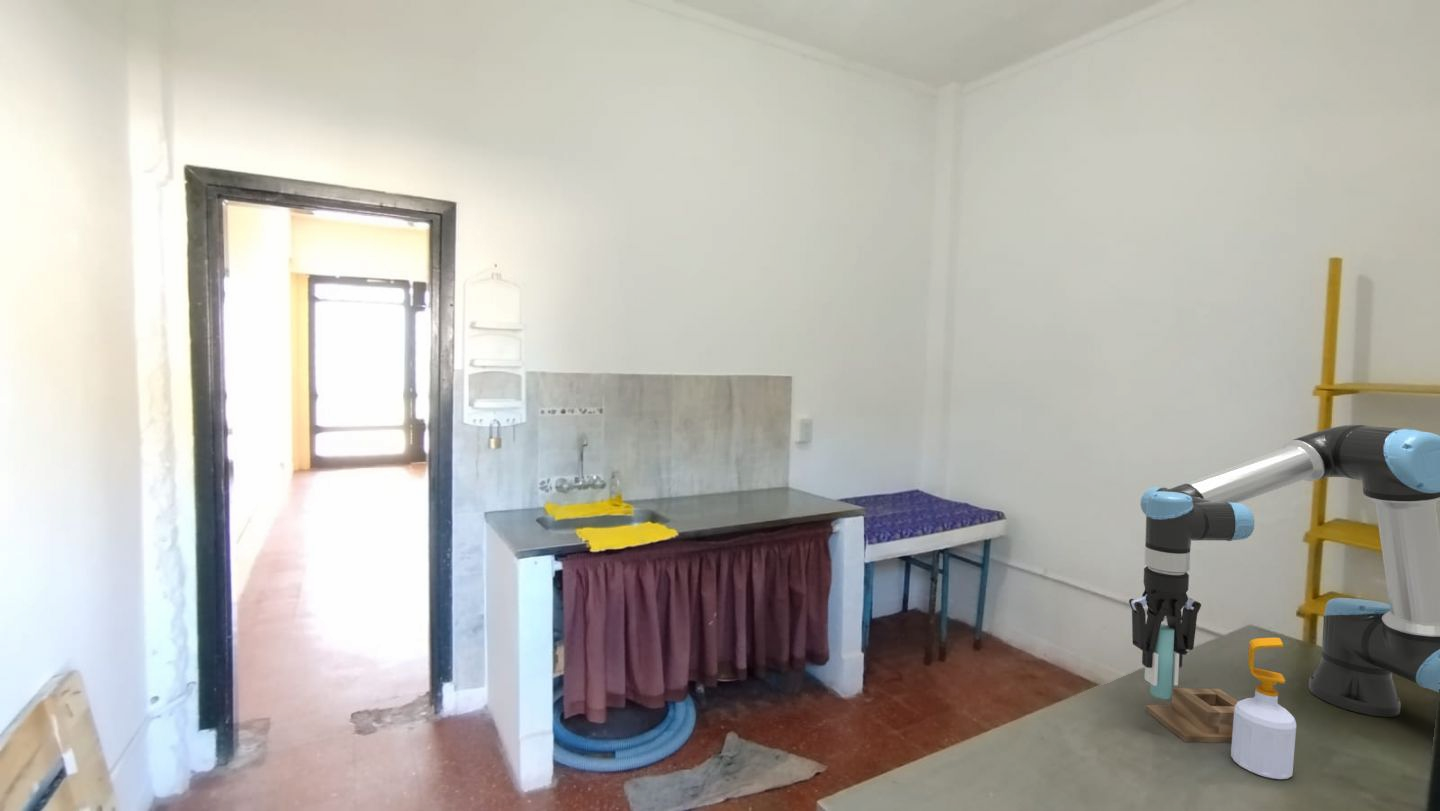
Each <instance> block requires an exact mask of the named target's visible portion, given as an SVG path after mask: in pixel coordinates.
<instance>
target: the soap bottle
mask: <svg viewBox="0 0 1440 811" xmlns="http://www.w3.org/2000/svg"><path fill="white" fill-rule="evenodd" d="M1282 647H1284V643H1283V641H1282V639H1281V638H1280V637H1261V638H1260V637H1259V638H1258V637H1257V638H1253V639H1251V640H1250V641H1249V642H1248V653H1247V654H1248V655H1247V666H1248V667H1249V670H1250V673H1251V675H1252V676H1253V677H1255V678H1257V679H1258V681H1260V682H1261V685H1260V684H1259V685H1255V689H1254V696H1252V697H1247V698H1244V699H1241V700H1238V701H1239V702H1237V704H1236V705H1235V708H1234V720H1233V733H1232V743H1231V746H1230V747H1231V749H1230V757H1231V758H1232V759H1233V762H1235V764H1238V766H1240V767H1241V768H1243V769H1245V770H1246V771H1249V772H1251V773H1253V774H1255V775H1258V776H1261V777H1265V778H1269V779H1273V780H1287V779H1290V778H1291V777H1292V776H1293V773H1294V772H1293V771H1294V770H1293V769H1294V762H1295V760H1294V759H1295V746H1296V733H1297V722H1296V718H1295V717H1294V716H1293V714H1291V713H1290V712H1289V711H1288V710H1287V709H1286V708H1285V707H1283V706H1281V705H1280V704H1279V701H1278V699H1279V691H1278V690H1277V689H1275V688H1274V685H1278V684H1277V683H1280V684H1285V683H1286V680H1285V677H1284V675H1283V674H1282V673H1279V672H1275V671H1272V670H1271V671H1270V670H1266V669H1262V668H1257V667H1254V664H1255V663H1254V662H1255V654H1256V651H1257V650H1259V649H1268V648H1269V649H1270V648H1282Z"/></svg>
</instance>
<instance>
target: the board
mask: <svg viewBox="0 0 1440 811" xmlns="http://www.w3.org/2000/svg"><path fill="white" fill-rule="evenodd" d="M1171 699H1172V700H1171V702H1172V703H1171V705H1149V704H1148V705H1145V712H1147V713H1148V714H1149V715H1150V716H1152V717H1153V718H1154V719H1156V720H1157V721H1158V722H1159V723H1161V724H1162V725H1163V726H1164V727H1165V728H1167V729H1168V730H1169V731H1171V733H1173V734H1175V735H1176V736H1177V737H1178V738H1179V739H1180V740H1182V741H1183V742H1184V743H1216V744H1217V743H1222V744H1224V743H1226V744H1227V743H1229V744H1230V743H1231V744H1232V733H1233V720H1234V708H1235V705H1236V704H1237V702H1239V701H1240V700H1238V699H1236V698H1234V697H1233V696H1231V695H1230V694H1228V693H1227V692H1225V691H1223V690H1221V689H1220V688H1210V687H1209V688H1207V687H1206V688H1205V687H1204V688H1203V687H1200V688H1199V687H1190V688H1189V687H1173V688H1172V697H1171Z"/></svg>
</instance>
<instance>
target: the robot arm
mask: <svg viewBox="0 0 1440 811" xmlns="http://www.w3.org/2000/svg"><path fill="white" fill-rule="evenodd" d="M1324 478H1345V479H1346V478H1347V479H1352V480H1357V481H1361V485H1362V494H1363V496H1364V497H1365V498H1367V499H1368V500H1370V501H1372V502H1373V503H1374V505H1375V511H1376V517H1377V518H1376V519H1377V524H1378V531H1379V538H1380V539H1379V540H1380V546H1381V551H1382V552H1381V553H1382V559H1383V566H1384V567H1383V568H1384V573H1385V574H1384V575H1385V581H1386V586H1387V587H1386V588H1387V596H1388V602H1389V603H1385V602H1381V601H1376V600H1370V599H1369V600H1368V599H1361V598H1354V597H1353V598H1351V597H1335V598H1331V599H1329V600H1328V601H1327V602H1326V605H1325V610H1324V613H1323V626H1322V627H1323V628H1322V645H1321V657H1320V660H1319V662H1318V663H1317V665H1316V667H1315V669H1314V671H1313V674H1312V675H1310V677H1309V680H1308V681H1309V682H1308V691H1309V692H1310V693H1311V694H1312V695H1314V696H1315V697H1317V698H1318V699H1320V700H1322V701H1324V702H1326V703H1328V704H1331V705H1333V706H1336V707H1337V708H1338V707H1339V708H1341V709H1345V710H1348V711H1350V712H1355V713H1359V714H1363V715H1367V716H1374V717H1380V718H1381V717H1384V718H1387V717H1388V718H1390V717H1397V716H1399V715H1400V714H1401V707H1402V706H1401V700H1400V698H1399V696H1398V694H1397V689H1396V686H1395V682H1394V678H1393V674H1394V675H1397V676H1399V677H1402V678H1404V679H1406V680H1409V681H1411V682H1412V683H1415V684H1416V685H1418V686H1420V687H1421V688H1423V689H1424V688H1425V689H1429V690H1432V691H1433V692H1437V693H1439V689H1440V684H1439V683H1440V527H1439V520H1438V518H1439V517H1438V513H1437V512H1438V511H1437V502H1439V501H1440V434H1439V435H1438V434H1435V433H1433V432H1430V431H1429V432H1428V431H1421V430H1418V429H1413V428H1397V427H1396V428H1395V427H1384V426H1370V425H1363V424H1348V425H1347V424H1345V425H1340V426H1334V427H1331V428H1325V429H1323V430H1322V429H1321V430H1318V431H1315V432H1313V433H1309V434H1305V435H1302V436H1300V437H1297V438H1293V439H1291V440H1289V441H1287V442H1285V443H1284V444H1283V446H1282V448H1280V449H1278V450H1275V451H1272V452H1269V453H1266V454H1263V455H1260V456H1258V457H1255V458H1253V459H1249V460H1248V461H1245V462H1241V463H1238V464H1236V465H1234V466H1233V465H1232V466H1230V467H1228V468H1224V469H1222V470H1219V471H1216V472H1213V473H1211V474H1209V475H1205V476H1203V477H1200V478H1197V479H1194V480H1192V481H1189V482H1186V483H1183V484H1180V485H1177V486H1173V487H1171V488H1168V487H1162V486H1161V487H1160V486H1154V487H1150V488H1148V489H1147V490H1146V491H1145V492H1143V494H1142V496H1141V498H1140V507H1141V511H1142V512H1143V514H1144V515H1145V545H1144V546H1145V548H1144V565H1145V566H1146V567H1144V568H1143V584H1144V585H1143V586H1144V590H1143V593H1142V596H1141V597H1139V598H1137V599H1134V598H1130V599H1129V601H1128V604H1129V606H1130V608H1131V625H1132V626H1131V627H1132V629H1131V631H1132V645H1133V646H1135V647H1136V648H1138V649H1139V650H1141V651H1142V655H1141V656H1142V657H1141V663H1142V666H1144V680H1145V681H1147V682H1148V683H1151V684H1152V685H1153V686H1157V677H1158V656H1159V654H1158V653H1156V652H1155V648H1156V643H1157V639H1158V635H1159V630H1160V626H1161V624H1162V622H1164V620H1165V617H1166V623H1167V626H1170V627H1172V628H1173V629H1174V649H1173V670H1172V686H1173V685H1174V686H1179V673H1180V671H1179V670H1180V669H1179V668H1182V667H1183V656H1186V655H1187V654H1188V651H1187V650H1189V651H1192V650H1193V649H1194V646H1195V640H1196V639H1195V637H1196V636H1195V635H1196V628H1197V619H1198V613H1199V611H1200V610H1201V608H1202V604H1201V602H1199V601H1197V600H1195V599H1193V598H1190V597H1189V596H1188V594H1187V592H1188V591H1189V586H1190V585H1189V582H1190V575H1189V573H1188V572H1189V571H1190V568H1191V567H1190V566H1191V564H1190V563H1191V546H1192V541H1193V542H1195V541H1226V542H1231V541H1232V542H1233V541H1241V540H1245V539H1247V538H1249V537H1251V535H1252V534H1253V532H1254V529H1255V517H1254V515H1253V513H1252V511H1251V510H1250V508H1249V507H1248V506H1246V505H1245V504H1242V502H1245V501H1247V500H1250V499H1253V498H1255V497H1259V496H1261V495H1264V494H1267V493H1270V492H1273V491H1275V490H1278V489H1281V488H1283V487H1286V486H1290V485H1292V484H1295V483H1297V482H1301V481H1306V482H1315V481H1319V480H1321V479H1324ZM1146 606H1147V608H1146ZM1146 615H1147V617H1146Z"/></svg>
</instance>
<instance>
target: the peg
mask: <svg viewBox="0 0 1440 811" xmlns="http://www.w3.org/2000/svg"><path fill="white" fill-rule="evenodd" d="M1173 649H1174V629H1173V628H1172V627H1170V626H1168V624H1167V625H1166V624H1162V623H1161V626H1160V630H1159V635H1158V639H1157V643H1156V648H1155V652H1156V653H1158V654H1159V656H1158V677H1157V686H1153V685H1152V684H1151V683H1150V684H1149V687H1150V689H1149V693H1150V694H1151V695H1152V696H1153V697H1155V698H1158V699H1161V700H1162V699H1163V700H1170V699H1172V692H1173V688H1172V687H1173V684H1172V670H1173Z"/></svg>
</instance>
